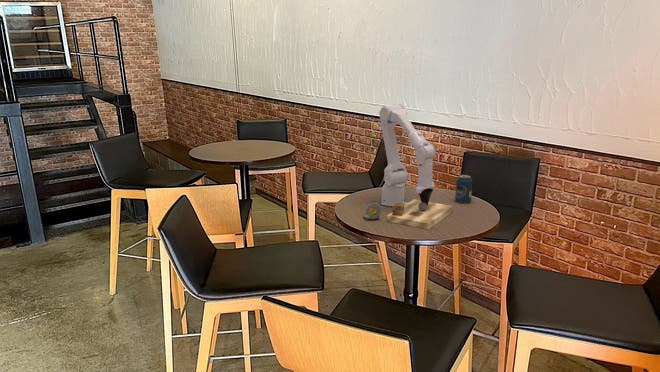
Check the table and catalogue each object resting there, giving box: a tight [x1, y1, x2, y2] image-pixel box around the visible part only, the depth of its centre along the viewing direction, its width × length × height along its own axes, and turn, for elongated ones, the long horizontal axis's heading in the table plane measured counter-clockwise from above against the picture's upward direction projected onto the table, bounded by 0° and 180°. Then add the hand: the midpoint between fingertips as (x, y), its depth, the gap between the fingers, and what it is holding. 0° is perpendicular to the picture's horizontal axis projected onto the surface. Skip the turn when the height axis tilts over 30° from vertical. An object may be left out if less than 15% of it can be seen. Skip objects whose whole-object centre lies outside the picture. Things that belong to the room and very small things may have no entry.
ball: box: [418, 202, 427, 210], centre depth 208 cm, size 4×4×4 cm
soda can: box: [454, 174, 473, 205], centre depth 226 cm, size 7×7×12 cm
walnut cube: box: [391, 203, 404, 216], centre depth 204 cm, size 4×4×4 cm
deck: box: [386, 198, 454, 231], centre depth 209 cm, size 18×26×2 cm
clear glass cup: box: [363, 196, 383, 220], centre depth 206 cm, size 8×8×10 cm
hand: (424, 205), depth 209 cm, fingers closed, pressing on ball
